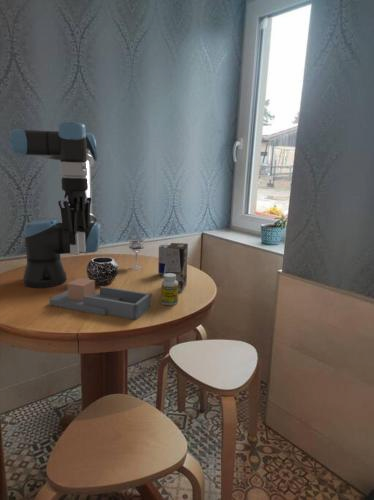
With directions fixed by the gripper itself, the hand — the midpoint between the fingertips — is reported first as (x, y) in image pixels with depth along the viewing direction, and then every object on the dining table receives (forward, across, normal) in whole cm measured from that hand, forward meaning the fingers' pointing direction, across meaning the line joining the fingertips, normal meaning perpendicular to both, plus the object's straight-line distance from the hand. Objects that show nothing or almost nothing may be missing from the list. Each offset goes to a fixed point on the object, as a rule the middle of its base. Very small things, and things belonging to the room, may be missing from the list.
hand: (78, 252), depth 111 cm
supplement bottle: (+17, +11, -27) cm, 33 cm away
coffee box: (+17, +25, -24) cm, 38 cm away
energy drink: (+17, +38, -14) cm, 44 cm away
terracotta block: (+14, 0, -1) cm, 14 cm away
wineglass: (+17, +42, +1) cm, 45 cm away
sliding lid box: (+16, 0, -8) cm, 18 cm away
